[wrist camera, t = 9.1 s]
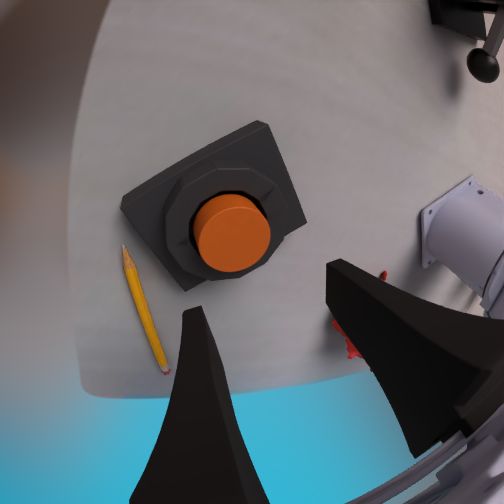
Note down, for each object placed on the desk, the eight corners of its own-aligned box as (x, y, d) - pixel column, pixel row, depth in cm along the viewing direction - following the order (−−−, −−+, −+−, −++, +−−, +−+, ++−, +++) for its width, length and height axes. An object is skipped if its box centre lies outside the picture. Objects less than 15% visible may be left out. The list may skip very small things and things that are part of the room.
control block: (257, 119, 16) (281, 129, 13) (295, 211, 20) (320, 236, 18) (122, 196, 16) (116, 222, 13) (181, 276, 20) (189, 310, 17)
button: (243, 180, 15) (254, 193, 13) (268, 233, 17) (280, 249, 15) (180, 216, 15) (184, 232, 13) (213, 265, 17) (220, 283, 15)
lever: (472, 70, 17) (496, 91, 16) (455, 66, 17) (481, 88, 15) (508, -26, 7) (539, -7, 5) (492, -40, 6) (525, -22, 5)
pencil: (161, 369, 25) (162, 375, 24) (117, 241, 17) (116, 247, 17) (170, 367, 25) (171, 373, 24) (129, 239, 17) (128, 244, 17)
